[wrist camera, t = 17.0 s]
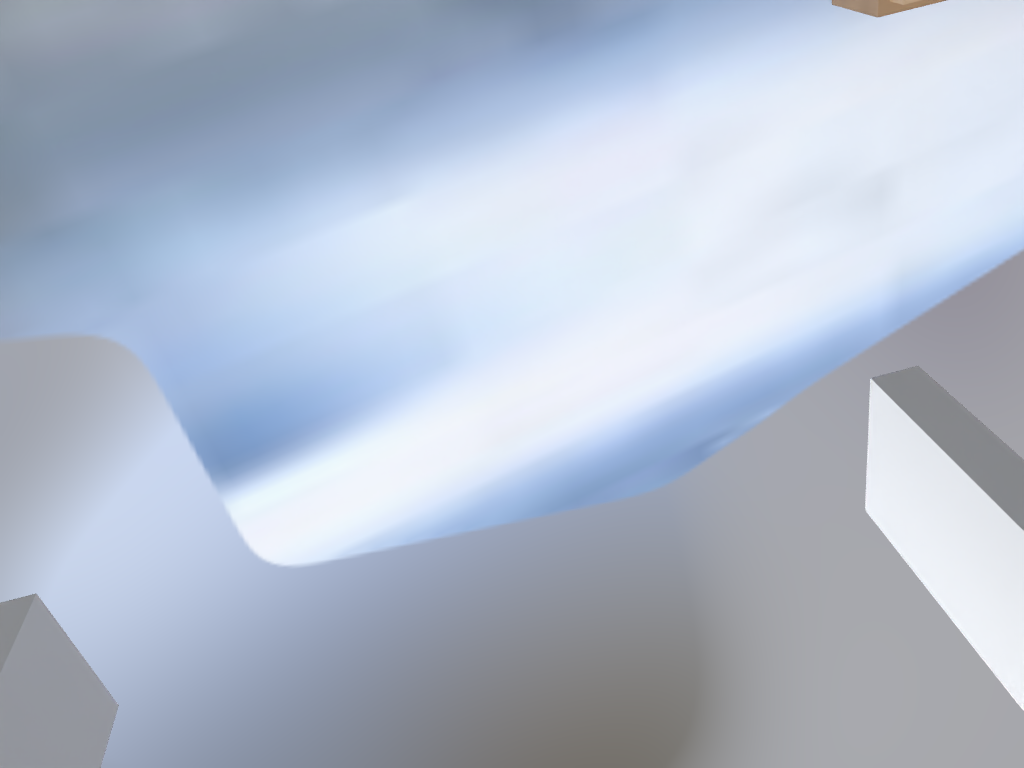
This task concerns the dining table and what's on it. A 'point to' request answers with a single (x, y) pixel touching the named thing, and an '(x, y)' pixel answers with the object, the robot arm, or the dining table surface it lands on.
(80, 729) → the robot arm
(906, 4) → the wooden square block
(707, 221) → the dining table surface
